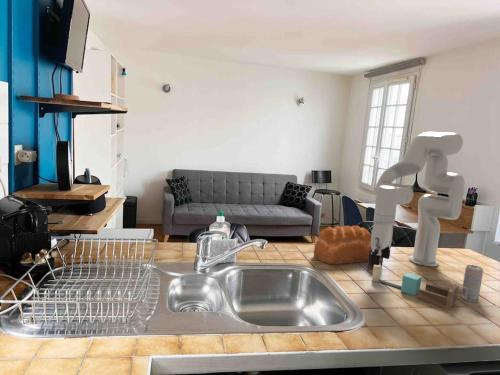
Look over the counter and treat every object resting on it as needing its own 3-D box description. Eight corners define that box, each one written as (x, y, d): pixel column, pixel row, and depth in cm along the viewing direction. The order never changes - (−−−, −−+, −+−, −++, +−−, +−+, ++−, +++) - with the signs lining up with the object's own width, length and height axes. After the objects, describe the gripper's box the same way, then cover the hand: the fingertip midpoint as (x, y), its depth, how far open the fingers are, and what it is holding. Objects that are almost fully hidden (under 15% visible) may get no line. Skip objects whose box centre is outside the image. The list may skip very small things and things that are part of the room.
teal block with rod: (369, 281, 145) (371, 266, 144) (374, 278, 149) (376, 263, 148) (415, 295, 134) (417, 279, 133) (419, 292, 138) (421, 276, 137)
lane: (425, 292, 138) (427, 276, 137) (456, 301, 131) (458, 285, 131) (417, 299, 131) (420, 282, 130) (449, 309, 125) (452, 292, 124)
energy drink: (476, 298, 136) (481, 266, 134) (479, 303, 131) (485, 271, 129) (459, 295, 138) (464, 263, 136) (462, 300, 133) (467, 268, 131)
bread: (310, 256, 171) (313, 223, 169) (355, 252, 182) (359, 221, 180) (328, 266, 158) (332, 231, 156) (376, 262, 169) (380, 228, 167)
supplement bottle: (382, 270, 158) (386, 244, 156) (368, 268, 159) (371, 242, 157) (380, 266, 164) (384, 241, 162) (366, 264, 165) (369, 239, 163)
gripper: (383, 212, 151) (379, 253, 154) (365, 220, 138) (361, 264, 141) (402, 216, 146) (398, 258, 149) (385, 224, 133) (380, 269, 136)
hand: (380, 261), depth 145 cm, fingers open, 9 cm apart
